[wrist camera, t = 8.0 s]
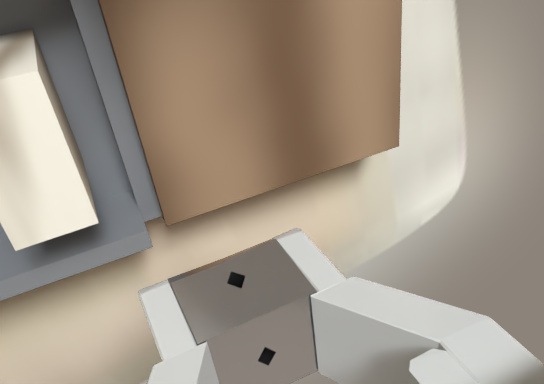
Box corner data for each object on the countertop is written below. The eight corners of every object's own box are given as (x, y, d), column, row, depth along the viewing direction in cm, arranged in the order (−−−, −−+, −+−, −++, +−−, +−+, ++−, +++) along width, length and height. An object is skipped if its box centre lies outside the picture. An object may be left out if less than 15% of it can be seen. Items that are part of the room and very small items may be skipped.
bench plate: (151, 190, 23) (166, 226, 20) (66, -88, 17) (74, -83, 14) (363, 122, 26) (398, 146, 23) (357, -136, 20) (404, -139, 17)
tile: (82, 156, 20) (15, 176, 19) (32, 28, 17) (-48, 46, 16) (98, 222, 16) (15, 250, 15) (37, 70, 13) (-68, 96, 13)
